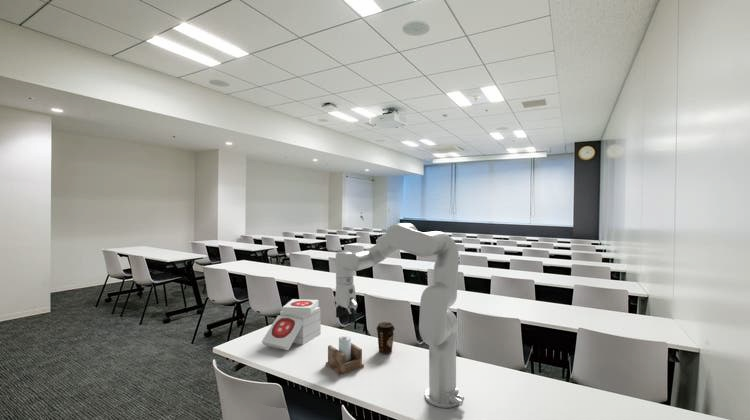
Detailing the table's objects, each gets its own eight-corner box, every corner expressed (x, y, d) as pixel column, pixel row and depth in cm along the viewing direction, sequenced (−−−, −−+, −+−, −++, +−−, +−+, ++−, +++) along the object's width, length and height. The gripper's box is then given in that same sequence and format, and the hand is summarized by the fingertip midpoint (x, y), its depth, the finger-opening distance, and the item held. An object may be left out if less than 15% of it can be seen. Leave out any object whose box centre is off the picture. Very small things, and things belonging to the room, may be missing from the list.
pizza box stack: (258, 348, 160) (258, 311, 160) (298, 328, 187) (298, 296, 187) (289, 356, 151) (289, 317, 151) (326, 334, 178) (326, 300, 178)
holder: (364, 367, 141) (364, 348, 141) (340, 375, 134) (340, 356, 133) (348, 357, 150) (348, 339, 150) (325, 364, 143) (325, 346, 143)
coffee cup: (395, 348, 160) (395, 321, 160) (394, 356, 151) (394, 328, 151) (377, 347, 160) (377, 321, 160) (375, 355, 152) (375, 327, 152)
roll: (353, 364, 141) (353, 338, 141) (343, 367, 138) (342, 341, 138) (346, 359, 146) (346, 334, 145) (336, 363, 142) (336, 337, 142)
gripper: (363, 282, 137) (364, 322, 137) (341, 276, 151) (342, 313, 151) (348, 284, 133) (349, 327, 132) (327, 278, 146) (327, 316, 146)
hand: (345, 319), depth 142 cm, fingers open, 9 cm apart
